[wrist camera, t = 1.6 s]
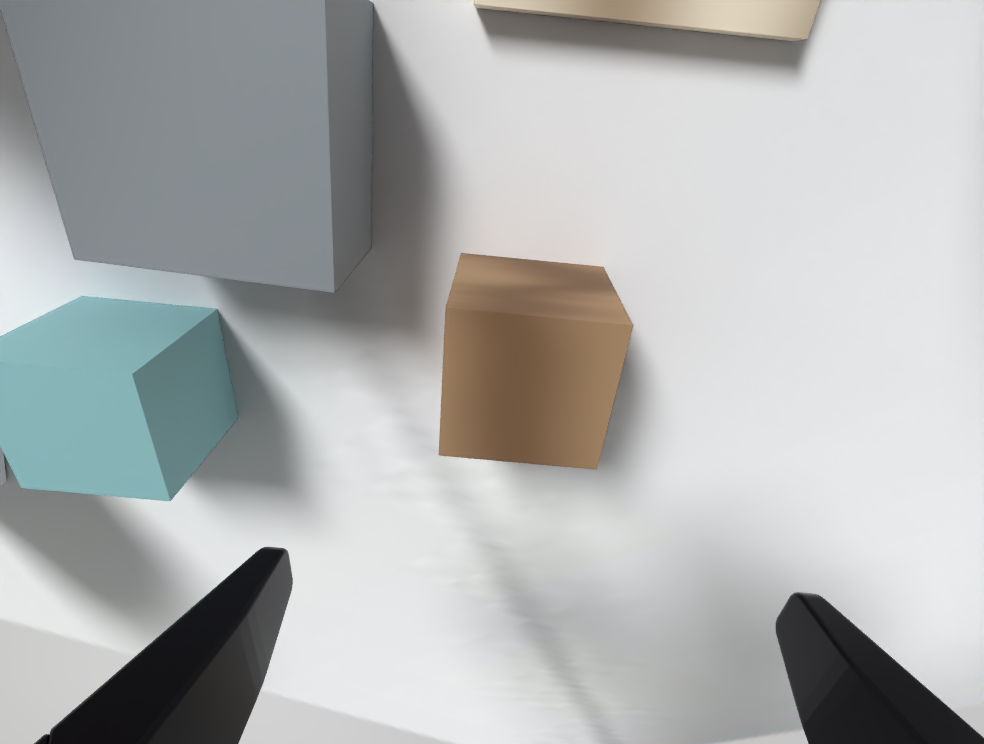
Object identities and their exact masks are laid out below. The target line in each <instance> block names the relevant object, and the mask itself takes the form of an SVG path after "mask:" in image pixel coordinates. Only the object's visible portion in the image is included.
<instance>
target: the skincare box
mask: <svg viewBox="0 0 984 744" xmlns="http://www.w3.org/2000/svg"><path fill="white" fill-rule="evenodd" d="M6 480H7V479H6V472H5V463H4V452H3V450H2V448H1V446H0V486H2V485H3V484H4V483H5V482H6Z"/></svg>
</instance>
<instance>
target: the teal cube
mask: <svg viewBox="0 0 984 744" xmlns="http://www.w3.org/2000/svg"><path fill="white" fill-rule="evenodd" d="M237 419H238V414H237V409H236V404H235V399H234V393H233V388H232V383H231V378H230V373H229V368H228V362H227V357H226V352H225V347H224V342H223V337H222V331H221V326H220V321H219V316H218V311H217V309H213V308H203V307H192V306H182V305H172V304H161V303H151V302H140V301H130V300H119V299H109V298H98V297H88V296H81V297H79V298H77V299H75V300H73V301H71V302H69V303H67V304H65V305H63V306H61V307H59V308H57V309H55V310H53V311H51V312H49V313H47V314H45V315H43V316H41V317H39V318H36V319H34V320H32V321H30V322H28V323H26V324H24V325H22V326H20V327H18V328H16V329H14V330H12V331H10V332H8V333H6V334H4V335H2V336H0V446H1V448H2V450H3V452H4V455H5V457H6V459H7V461H8V463H9V465H10V467H11V469H12V471H13V473H14V475H15V477H16V479H17V481H18V483H19V485H20V487H21V488H26V489H37V490H49V491H60V492H71V493H83V494H94V495H105V496H116V497H128V498H139V499H150V500H161V501H171V500H172V499H173V497H174V496H175V495H176V494H177V493H178V491H179V490H180V489H181V488H182V486H183V485H184V484H185V483H186V482H187V480H188V479H189V478H190V477H191V475H192V474H193V473H194V472H195V470H196V469H197V468H198V467H199V466H200V464H201V463H202V462H203V461H204V459H205V458H206V457H207V456H208V454H209V453H210V452H211V451H212V450H213V448H214V447H215V446H216V445H217V443H218V442H219V441H220V440H221V439H222V437H223V436H224V435H225V434H226V432H227V431H228V430H229V429H230V427H231V426H232V425H233V424H234V423H235V421H236V420H237Z"/></svg>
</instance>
